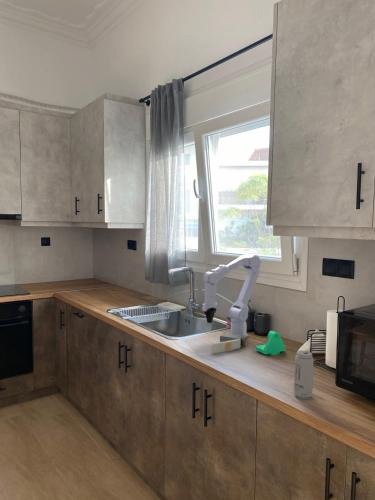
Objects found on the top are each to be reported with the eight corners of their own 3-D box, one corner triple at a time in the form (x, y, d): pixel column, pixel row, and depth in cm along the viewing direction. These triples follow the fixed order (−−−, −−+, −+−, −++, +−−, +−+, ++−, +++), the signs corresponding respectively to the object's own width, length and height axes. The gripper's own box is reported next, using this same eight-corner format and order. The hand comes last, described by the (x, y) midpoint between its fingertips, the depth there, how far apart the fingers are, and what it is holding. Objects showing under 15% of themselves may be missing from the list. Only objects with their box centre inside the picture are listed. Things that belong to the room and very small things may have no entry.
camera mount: (273, 348, 185) (274, 327, 184) (285, 352, 178) (286, 331, 178) (254, 351, 179) (255, 330, 178) (265, 356, 172) (266, 334, 172)
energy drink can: (290, 393, 134) (291, 351, 133) (305, 391, 136) (306, 349, 135) (300, 401, 128) (302, 356, 127) (315, 398, 130) (317, 355, 129)
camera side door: (211, 352, 174) (211, 343, 174) (239, 347, 183) (239, 338, 183) (213, 353, 173) (213, 344, 173) (241, 348, 182) (241, 339, 182)
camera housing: (225, 341, 194) (225, 332, 194) (246, 344, 189) (246, 335, 189) (219, 344, 188) (219, 335, 188) (241, 348, 183) (241, 339, 182)
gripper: (208, 293, 201) (208, 318, 201) (196, 297, 188) (196, 324, 189) (221, 294, 197) (220, 320, 198) (209, 298, 185) (209, 326, 185)
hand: (209, 322), depth 193 cm, fingers closed
